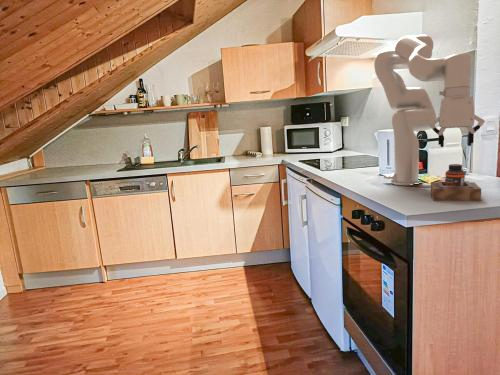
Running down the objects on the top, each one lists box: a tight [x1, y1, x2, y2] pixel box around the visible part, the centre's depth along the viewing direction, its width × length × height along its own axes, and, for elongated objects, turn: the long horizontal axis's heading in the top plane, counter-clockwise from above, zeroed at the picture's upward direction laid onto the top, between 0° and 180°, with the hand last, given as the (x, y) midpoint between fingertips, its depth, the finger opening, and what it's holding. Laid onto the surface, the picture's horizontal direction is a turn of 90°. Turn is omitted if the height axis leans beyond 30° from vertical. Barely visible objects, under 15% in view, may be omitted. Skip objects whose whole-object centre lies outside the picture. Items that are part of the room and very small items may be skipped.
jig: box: [430, 180, 482, 202], centre depth 125 cm, size 14×12×5 cm
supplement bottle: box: [444, 163, 466, 186], centre depth 125 cm, size 6×6×11 cm
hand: (455, 145), depth 122 cm, fingers open, 7 cm apart
